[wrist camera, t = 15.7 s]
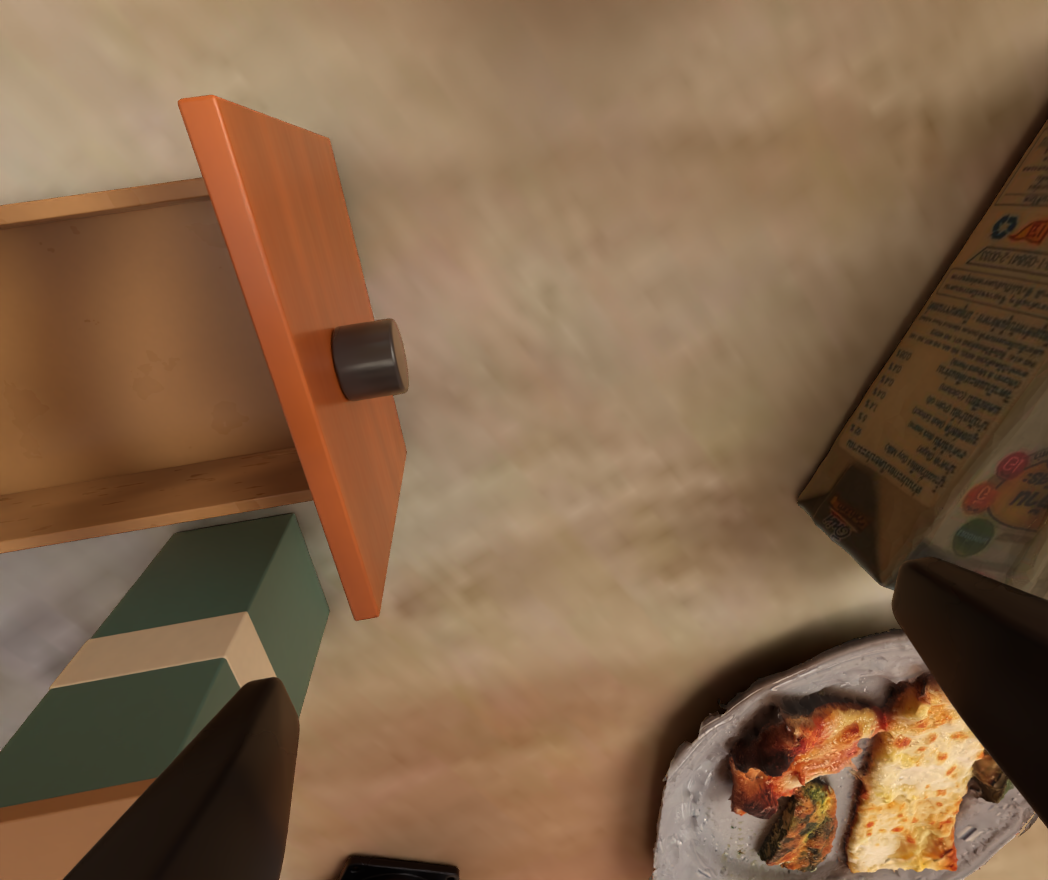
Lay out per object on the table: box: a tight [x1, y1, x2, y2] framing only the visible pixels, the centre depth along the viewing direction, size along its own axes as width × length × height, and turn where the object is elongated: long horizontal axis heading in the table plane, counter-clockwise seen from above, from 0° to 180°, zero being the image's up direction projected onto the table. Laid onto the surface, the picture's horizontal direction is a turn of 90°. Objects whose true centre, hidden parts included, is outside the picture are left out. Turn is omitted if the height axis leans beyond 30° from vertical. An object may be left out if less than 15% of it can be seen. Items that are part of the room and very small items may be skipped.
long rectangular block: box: [0, 513, 330, 880], centre depth 17 cm, size 5×5×11 cm
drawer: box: [0, 95, 409, 621], centre depth 14 cm, size 19×10×9 cm, turn 97°
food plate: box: [649, 628, 1038, 880], centre depth 31 cm, size 25×23×4 cm
